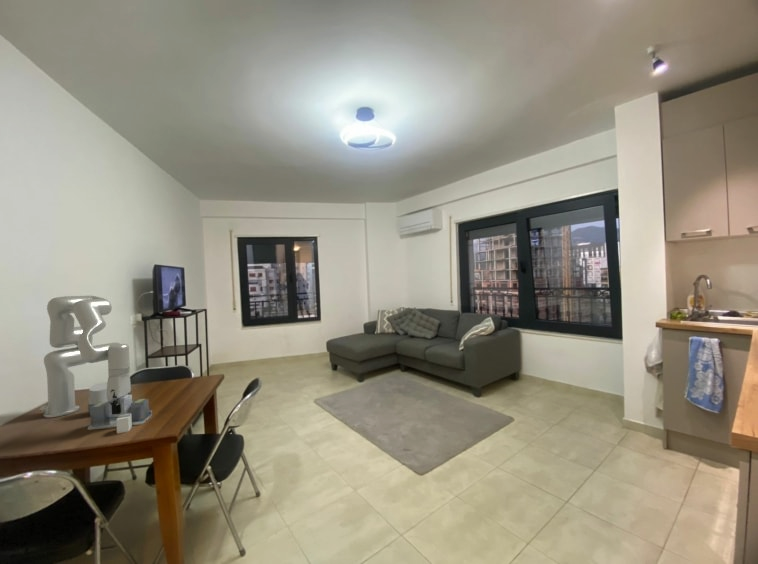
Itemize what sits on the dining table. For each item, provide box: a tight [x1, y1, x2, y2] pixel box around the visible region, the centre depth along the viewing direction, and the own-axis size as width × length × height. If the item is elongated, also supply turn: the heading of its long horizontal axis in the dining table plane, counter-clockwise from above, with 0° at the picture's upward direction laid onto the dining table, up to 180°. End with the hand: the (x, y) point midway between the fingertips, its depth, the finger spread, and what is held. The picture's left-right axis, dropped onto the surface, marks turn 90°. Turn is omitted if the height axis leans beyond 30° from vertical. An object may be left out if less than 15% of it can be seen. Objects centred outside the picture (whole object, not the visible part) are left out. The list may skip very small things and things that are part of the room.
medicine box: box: [108, 394, 133, 417], centre depth 143 cm, size 8×4×9 cm, turn 87°
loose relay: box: [116, 414, 133, 434], centre depth 135 cm, size 4×5×6 cm
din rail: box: [87, 398, 153, 431], centre depth 143 cm, size 21×9×10 cm, turn 101°
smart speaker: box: [87, 381, 108, 414], centre depth 156 cm, size 10×9×14 cm
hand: (120, 410), depth 143 cm, fingers closed on medicine box, 5 cm apart
